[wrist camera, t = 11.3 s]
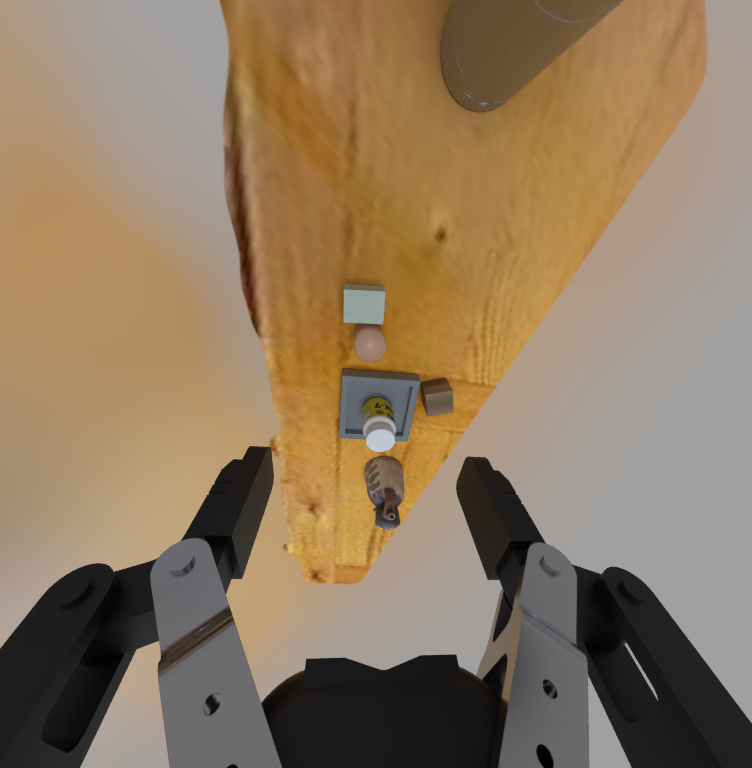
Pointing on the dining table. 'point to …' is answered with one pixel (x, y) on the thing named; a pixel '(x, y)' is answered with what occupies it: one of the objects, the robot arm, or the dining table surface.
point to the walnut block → (437, 397)
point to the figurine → (385, 490)
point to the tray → (370, 383)
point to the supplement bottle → (378, 423)
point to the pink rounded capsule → (369, 342)
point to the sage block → (364, 304)
